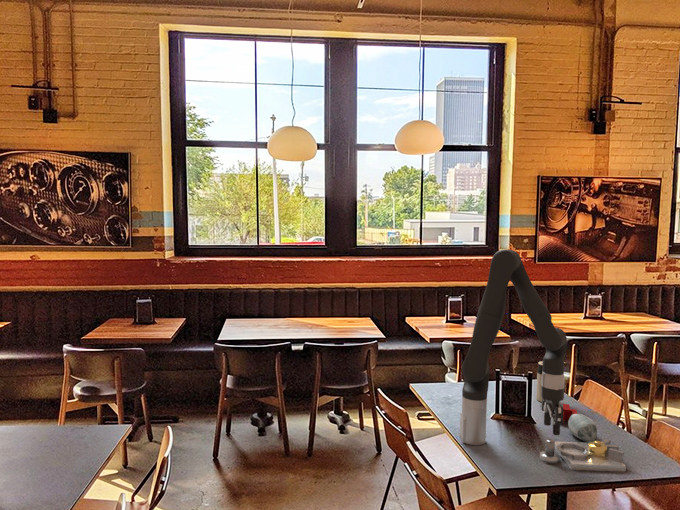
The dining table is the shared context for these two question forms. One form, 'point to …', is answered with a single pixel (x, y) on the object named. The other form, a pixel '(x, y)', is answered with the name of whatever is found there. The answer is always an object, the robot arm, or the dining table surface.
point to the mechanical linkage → (567, 412)
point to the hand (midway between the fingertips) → (551, 429)
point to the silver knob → (549, 453)
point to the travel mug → (539, 381)
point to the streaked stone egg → (582, 427)
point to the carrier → (591, 455)
